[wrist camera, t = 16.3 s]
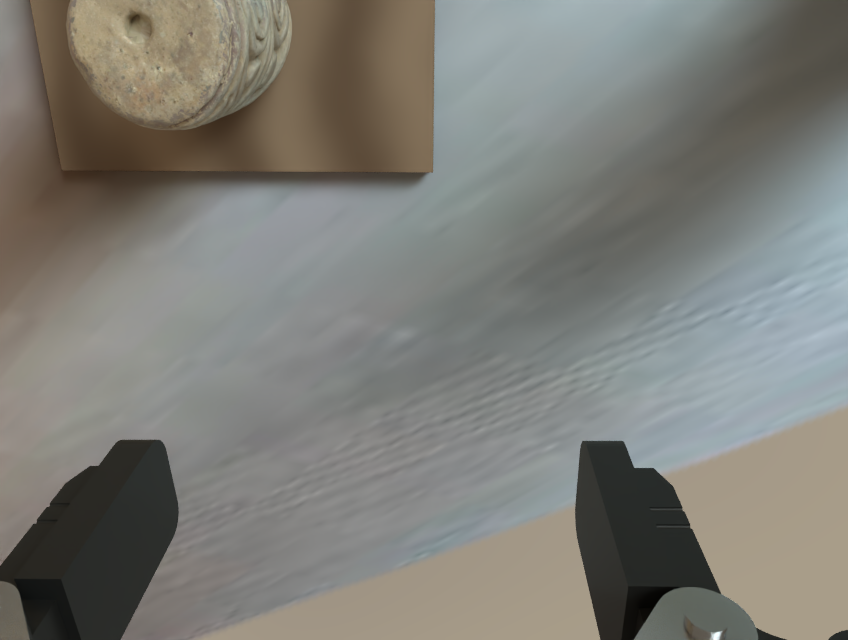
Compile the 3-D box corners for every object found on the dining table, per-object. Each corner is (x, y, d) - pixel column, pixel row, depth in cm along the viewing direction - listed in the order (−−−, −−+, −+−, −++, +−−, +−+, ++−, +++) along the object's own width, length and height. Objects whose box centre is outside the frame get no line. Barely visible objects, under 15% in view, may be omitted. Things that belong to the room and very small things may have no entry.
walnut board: (435, -124, 34) (436, -131, 32) (432, 167, 39) (433, 172, 37) (21, -128, 33) (4, -135, 32) (74, 165, 39) (61, 170, 37)
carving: (154, 84, 36) (34, 104, 25) (190, -71, 33) (74, -127, 22) (273, 130, 37) (209, 169, 25) (317, -17, 34) (267, -46, 23)
